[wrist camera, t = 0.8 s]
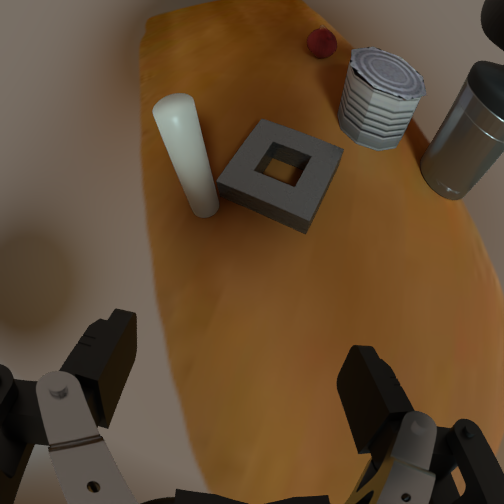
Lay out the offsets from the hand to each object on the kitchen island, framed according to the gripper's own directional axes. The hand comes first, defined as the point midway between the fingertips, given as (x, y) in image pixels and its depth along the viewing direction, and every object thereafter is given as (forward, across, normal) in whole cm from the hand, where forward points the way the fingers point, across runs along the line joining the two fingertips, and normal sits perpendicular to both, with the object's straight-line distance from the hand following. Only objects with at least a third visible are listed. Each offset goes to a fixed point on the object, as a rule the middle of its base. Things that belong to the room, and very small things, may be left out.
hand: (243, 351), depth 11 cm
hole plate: (+32, -5, -3) cm, 32 cm away
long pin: (+30, +4, +2) cm, 30 cm away
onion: (+52, -10, -28) cm, 60 cm away
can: (+39, -18, -14) cm, 45 cm away
